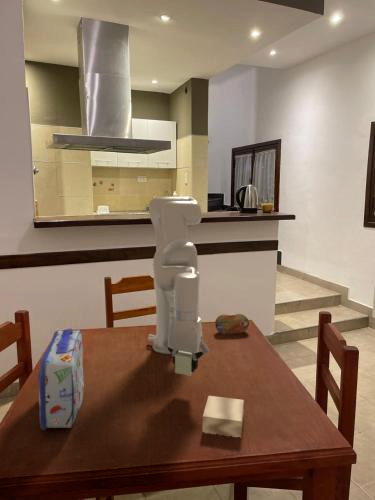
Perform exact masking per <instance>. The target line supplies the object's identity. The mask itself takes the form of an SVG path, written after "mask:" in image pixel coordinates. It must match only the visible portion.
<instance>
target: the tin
mask: <svg viewBox="0 0 375 500" xmlns="http://www.w3.org/2000/svg"><path fill="white" fill-rule="evenodd" d="M249 325H250V321H249V319H248V317H247V316H246V315H244V314H243V313H230V314H229V313H227V314H226V313H225V314H219V315H218V316H217V317H216V319H215V322H214V326H215V329H216V330H217V332H218V333H220V334H222V335H226V334H227V335H228V334H242V333H245V332H246V331H247V330H248V328H249Z"/></svg>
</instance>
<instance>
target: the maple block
mask: <svg viewBox="0 0 375 500" xmlns="http://www.w3.org/2000/svg"><path fill="white" fill-rule="evenodd" d="M244 404H245V399H239V398H229V397H225V396H224V397H222V396H214V395H208V396H207V401H206V404H205V407H204V410H203V415H202V433H203V432H204V433H203V434H209V433H210V434H211V435H216V434H218V435H217V436H223V435H224V436H225V437H230V436H232V438H237V437H240V438H239V439H241V438H242V429H243V423H244V422H243V421H244V407H245V405H244Z"/></svg>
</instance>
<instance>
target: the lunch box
mask: <svg viewBox="0 0 375 500" xmlns="http://www.w3.org/2000/svg"><path fill="white" fill-rule="evenodd" d="M83 351H84V347H83V341H82V332H81V330H72V328H66V329H63V330H58V331H57V330H56V331H54V333H53V336H52V338H51V341H50V343H49V344H48V346H47V348H46V350H45V352H44V354H43V356H42V357H41V361H40V367H39V371H38V377H37V378H38V379H37V380H38V386H39V387H38V407H39V408H38V409H39V412H38V413H39V426H40V427H39V428H40V429H41V431H42V430H43V431H46V430H47V428H49V429H51V428H53V429H56V428H57V429H59V428H63V429H65V428H66V429H67V428H68V429H71V428H73V425H74V423H75V420H76V419H77V416H78V414H79V411H80V408H81V406H82V404H83V400H84V399H83V397H84V391H85V387H84V386H85V384H84V383H85V381H84V353H83Z"/></svg>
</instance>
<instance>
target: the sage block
mask: <svg viewBox="0 0 375 500" xmlns="http://www.w3.org/2000/svg"><path fill="white" fill-rule="evenodd" d="M192 359H193V357H192V353H190V352H184V351H178V352H177V353H176V354H175V369H174V373H175V374H180V375H185V376H188V377H191V376H192V374H193V372H191V365H192Z"/></svg>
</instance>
